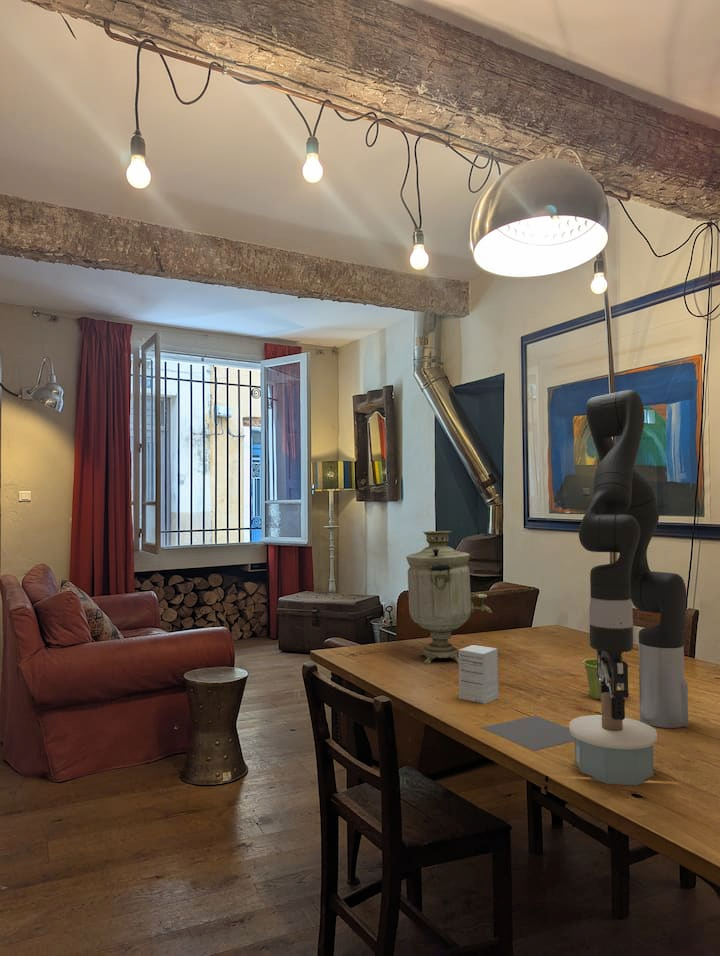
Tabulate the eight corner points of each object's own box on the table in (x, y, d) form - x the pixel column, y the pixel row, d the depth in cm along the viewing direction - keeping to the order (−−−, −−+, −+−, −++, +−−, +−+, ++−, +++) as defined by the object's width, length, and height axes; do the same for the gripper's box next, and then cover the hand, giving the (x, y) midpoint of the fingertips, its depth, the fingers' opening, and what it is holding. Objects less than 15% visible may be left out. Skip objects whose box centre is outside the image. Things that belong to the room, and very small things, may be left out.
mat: (535, 717, 154) (535, 715, 154) (591, 738, 140) (591, 736, 140) (480, 729, 146) (480, 727, 146) (534, 753, 132) (533, 750, 132)
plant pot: (610, 691, 175) (609, 657, 176) (630, 702, 166) (630, 666, 166) (576, 693, 174) (576, 659, 174) (595, 704, 165) (595, 668, 165)
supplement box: (473, 693, 174) (472, 644, 174) (499, 699, 169) (498, 648, 169) (458, 700, 168) (457, 649, 168) (484, 706, 163) (484, 653, 164)
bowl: (640, 759, 129) (639, 724, 129) (659, 786, 116) (659, 748, 117) (571, 755, 131) (571, 721, 131) (583, 782, 118) (583, 745, 119)
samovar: (483, 674, 193) (482, 534, 194) (395, 667, 201) (394, 533, 203) (497, 652, 221) (496, 530, 222) (419, 647, 229) (418, 529, 231)
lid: (644, 723, 130) (643, 685, 130) (667, 751, 115) (667, 708, 116) (563, 719, 132) (563, 682, 133) (576, 747, 118) (576, 705, 118)
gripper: (642, 630, 117) (644, 725, 116) (622, 616, 131) (624, 701, 131) (597, 629, 118) (599, 723, 118) (582, 615, 132) (584, 699, 132)
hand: (612, 711), depth 124 cm, fingers open, 8 cm apart
